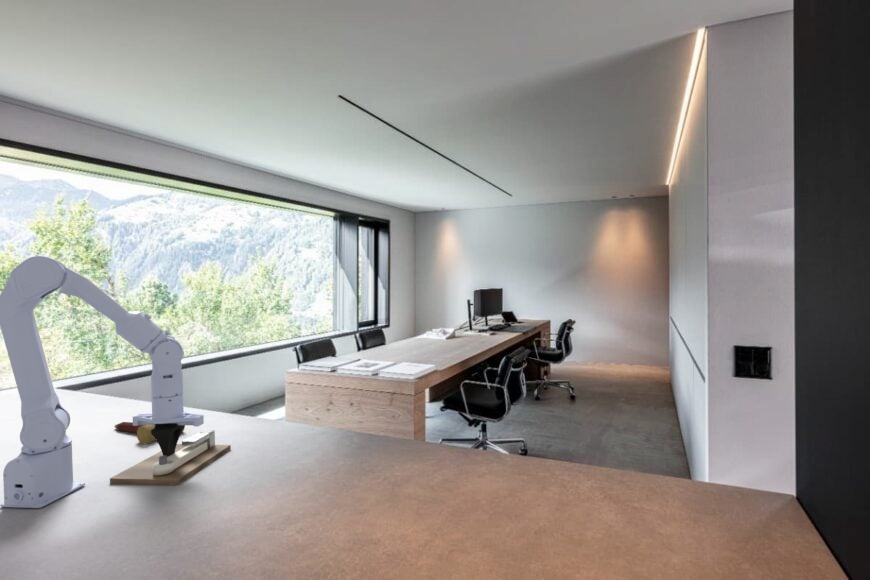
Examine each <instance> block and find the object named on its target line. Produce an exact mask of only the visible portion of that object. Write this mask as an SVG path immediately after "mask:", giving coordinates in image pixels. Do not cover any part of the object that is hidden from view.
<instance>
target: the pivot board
mask: <svg viewBox="0 0 870 580" xmlns="http://www.w3.org/2000/svg"><path fill="white" fill-rule="evenodd" d="M185 447H186V446H182V443H177V445H176V449H175V453H176V452H177V451H179V450H181V449H183V448H185ZM229 451H231V444H215V446H214V447H212V448H210V449H207V450H205V451H203V452H202V453H200V454H199V455H197V456H195V457H194V458H192V459H190V460H189V461H187V462H185V463H184V464H182V465H181V466H179V467H177V468H176V469H174V470H173V471H172V472H170V473H168V474H164V475H153V464H155V463H157V462H159V457H160V456H163V453H162V451H158V452H156V453H155V454H153V455H151V456H149V457H147V458H146V459H144V460H142V461H140V462H137V463H136V464H133V466H130V467H129V468H126V469H125V470H123V471H121V472H119V473H117V474H116V475H114V476H112V477H109V484H112V485H113V484H114V485H115V484H116V485H118V484H119V485H120V484H121V485H153V486H157V485H158V486H179V485H180V484H182V483H183V482H184V481H186V480H187V479H189V478H191V477H192V476H193V475H196V473H198V472H199V471H201V470H202V469H203V468H206V467H207V466H208V465H210V464H211V463H213V462H214V461H216V460H217V459H218V458H220V457H222V456H223V455H225V454H226V453H227V452H229Z"/></svg>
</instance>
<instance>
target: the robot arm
mask: <svg viewBox="0 0 870 580" xmlns="http://www.w3.org/2000/svg"><path fill="white" fill-rule="evenodd" d="M57 290H58V293H60V294H64V295H68V296H73V297H77V298H80V299H81V300H82V301H83V302H85V303H87V304H88V305H90V306H91V307H92V308H94V310H97V312H99V313H100V314H102V315H103V316H104V317H107V318H108V320H111V321H112V322H114V323H115V333H116V334H117V335H118V336H120V337H121V338H122V339H124V340H125V341H126V342H128V344H131V345H132V346H133V347H134V348H135V349H137V350H139V351H140V352H141V353H146V354H148V355H149V358H150V359H151V361H152V362H151V368H152V370H151V371H152V373H151V374H150V380H151V381H150V385H151V386H150V387H151V413H139V414H136V415H133V416H132V422H133V426H138V425H155V428H154V429H152V430H151V434H152V435H153V436H154V438H155V439H156V440H155V441H157V444H158V446H159V448H160V450H161V451H162V453H163V455H167V457H169V456H170V455H172V454H174V453H175V449H176V445H177V444H178V441H179V438H180V436H181V435H182V431H183V429H184V430H185V428H186V426H193V427H200V426H202V425H204V423H205V422H204V421H205V419H204V414H197V413H190V412H186V411H185V410H184V384H183V383H184V379H183V378H184V377H183V371H182V367H183V363H182V360H183V358H184V356H185V355H184V354H185V351H184V349H183V347H182V345H181V343H180V342H179V341H178V340H176V338H175V337H174V336H171V332H170V331H168V330H167V329H166V330H163V329H162V327H160V326H159V325H157V324H156V323H154V321H152V320H151V319H152V316H151V315H150V314H149V313H144V314H143V312H141V311H138V310H137V311H128V310H127V309H126V308H124V307H123V306H122V305H120V303H118V302H117V301H116V300H114V299H113V298H112V297H111V296H110V295H108V293H106V292H104V291H103V290H102V289H101V288H100V287H98V285H96V284H95V283H93V281H92V280H91V279H89V278H87V277H86V276H84V275H82V274H80V273H79V272H77V271H75V270H73V269H71V268H69V267H67V266H66V265H64V263H62V262H60V261H59V260H56V259H54V258H52V257H49V256H46V255H35V256H30V257H28V258H26V259H25V260H23V261H22V262H20V263H19V265H17V266H16V267H14V268H13V269H12V270H11V271H10V274H9V276H8V279H7V281H6V283H5V285H4V287H3V289H2V291H1V293H0V330H1V333H2V336H3V337H2V338H3V341H4V344H5V348H6V351H7V355H8V359H9V363H10V367H11V370H12V373H13V377H14V380H15V385H16V387H17V391H18V394H19V395H18V396H19V399H20V404H21V405H20V409H21V410H20V414H21V415H20V417H21V420H22V428H21V430H20V433H19V441H20V444H21V445H22V447H21V448H20V453H19V455H18V456H16V457H15V458H13V459H12V460H10V461H8V462H7V463H6V464H5V466H4V469H3V472H2V473H3V475H2V477H3V502H1V503H0V507H1V508H21V509H22V508H24V509H26V508H27V509H40V508H43V507H45V506H48V505H49V504H51V503H53V502H55V501H57V500H59V499H61V498H63V497H64V496H66V495H69V494H70V493H72V492H74V491H76V490H78V489H80V488H82V487H84V486H86V482H85V481H74V470H73V468H74V467H73V439H72V438H71V437H70V436H68V435H67V430H68V428H69V426H70V423H71V416H70V413H69V412H68V410H66V409H65V408H64V407H63V406H62V404H61V402H60V399H59V397H58V395H57V393H56V391H55V389H54V385H53V381H52V378H51V373H50V370H49V365H48V362H47V358H46V354H45V351H44V348H43V343H42V339H41V337H40V336H41V335H40V332H39V329H38V326H37V325H38V324H37V322H36V318H35V314H34V310H35V309H36V308H37V307H38V305H39V304H41V302H42V301H44V299H45V297H47V296H48V295H51V294H52V293H54V292H56V291H57ZM184 427H185V428H184ZM183 432H184V431H183Z"/></svg>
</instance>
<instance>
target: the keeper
mask: <svg viewBox="0 0 870 580" xmlns="http://www.w3.org/2000/svg"><path fill="white" fill-rule="evenodd" d="M215 432H216V430H215V429H214V430H213V429H202V430H200V431H198V432H197V433H195V434H193V435H190V436H189V437H187V438H185V439H183V440H182V441H181V444H182V446H196V445H197V444H199V443H201V442H207V446H208V449H210V448H212V447H214V446H215V445H216V436H215V435H216V433H215Z"/></svg>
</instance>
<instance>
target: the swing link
mask: <svg viewBox="0 0 870 580" xmlns="http://www.w3.org/2000/svg"><path fill="white" fill-rule="evenodd" d="M207 449H208V446H207V442H201V443H199V444H197V445H196V446H186V447H185V448H183V449H181V450H179V451H177V452H176V453H174V454H172V455H170V456H169V457H167V455H163V456H160V457H159V462H157V463H155V464H153V475H164V474H168V473H170V472H172V471H173V470H174V469H176V468H177V467H179V466H181V465H182V464H184V463H185V462H187V461H189V460H190V459H192V458H194V457H195V456H197V455H199V454H200V453H202V452H203V451H205V450H207Z"/></svg>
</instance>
